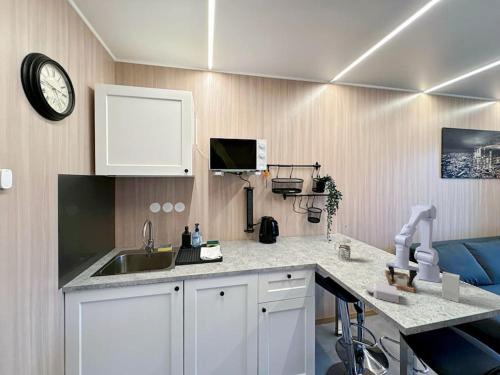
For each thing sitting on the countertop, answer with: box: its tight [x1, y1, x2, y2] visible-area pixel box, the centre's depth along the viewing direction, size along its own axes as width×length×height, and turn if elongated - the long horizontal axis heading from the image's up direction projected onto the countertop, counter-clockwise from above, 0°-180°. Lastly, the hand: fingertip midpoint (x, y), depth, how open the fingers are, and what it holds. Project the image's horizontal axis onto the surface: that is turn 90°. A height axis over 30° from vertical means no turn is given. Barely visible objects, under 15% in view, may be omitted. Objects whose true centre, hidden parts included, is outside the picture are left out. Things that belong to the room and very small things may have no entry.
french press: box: [334, 224, 353, 263], centre depth 153 cm, size 10×12×25 cm
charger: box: [361, 282, 399, 304], centre depth 104 cm, size 5×9×15 cm
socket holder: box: [384, 269, 417, 294], centre depth 119 cm, size 11×21×2 cm, turn 154°
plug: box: [395, 275, 408, 287], centre depth 113 cm, size 4×5×6 cm
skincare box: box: [441, 271, 461, 303], centre depth 102 cm, size 6×4×12 cm
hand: (401, 282), depth 113 cm, fingers open, 7 cm apart
